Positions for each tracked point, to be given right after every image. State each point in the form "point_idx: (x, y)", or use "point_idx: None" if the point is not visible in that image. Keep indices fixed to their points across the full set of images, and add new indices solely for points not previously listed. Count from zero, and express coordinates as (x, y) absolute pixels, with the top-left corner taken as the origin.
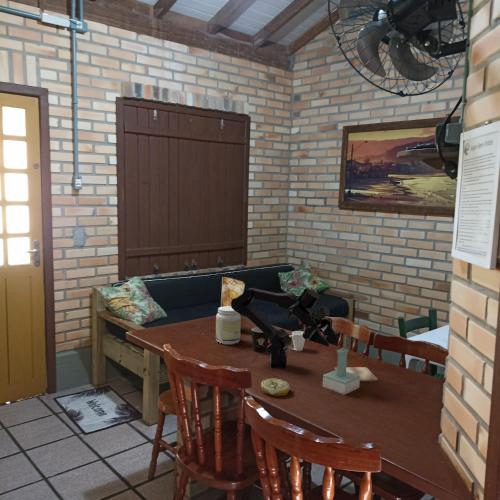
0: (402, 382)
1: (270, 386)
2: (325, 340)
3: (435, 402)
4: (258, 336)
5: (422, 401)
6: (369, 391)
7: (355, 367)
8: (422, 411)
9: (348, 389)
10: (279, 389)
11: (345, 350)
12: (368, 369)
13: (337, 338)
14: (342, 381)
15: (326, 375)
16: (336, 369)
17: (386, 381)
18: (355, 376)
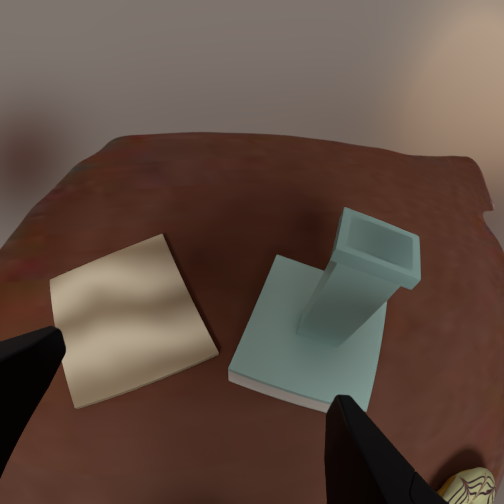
0: (156, 182)
1: (493, 499)
2: (380, 439)
3: (264, 135)
4: None
5: (273, 150)
6: (281, 249)
7: (56, 318)
8: (328, 153)
9: None
10: (491, 474)
11: (372, 223)
12: (69, 271)
13: (52, 335)
14: (385, 305)
15: (362, 394)
16: (98, 398)
17: (160, 215)
18: (293, 269)
